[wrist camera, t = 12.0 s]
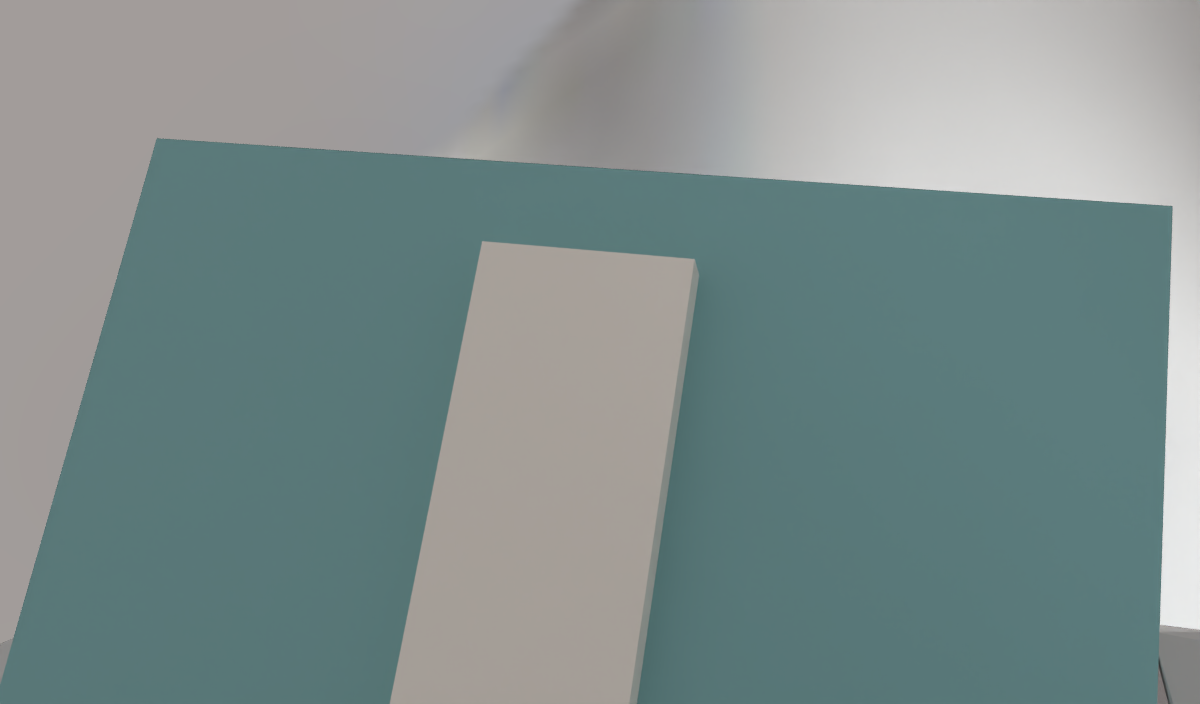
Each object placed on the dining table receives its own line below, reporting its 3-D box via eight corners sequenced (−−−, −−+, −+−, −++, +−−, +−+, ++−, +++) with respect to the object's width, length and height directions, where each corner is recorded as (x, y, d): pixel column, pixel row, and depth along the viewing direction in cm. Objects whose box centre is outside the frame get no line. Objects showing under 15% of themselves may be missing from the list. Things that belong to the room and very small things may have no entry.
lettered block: (567, 455, 15) (145, 85, 6) (940, 504, 14) (1188, 142, 5) (500, 854, 14) (-194, 1240, 4) (903, 942, 13) (1144, 1709, 3)
